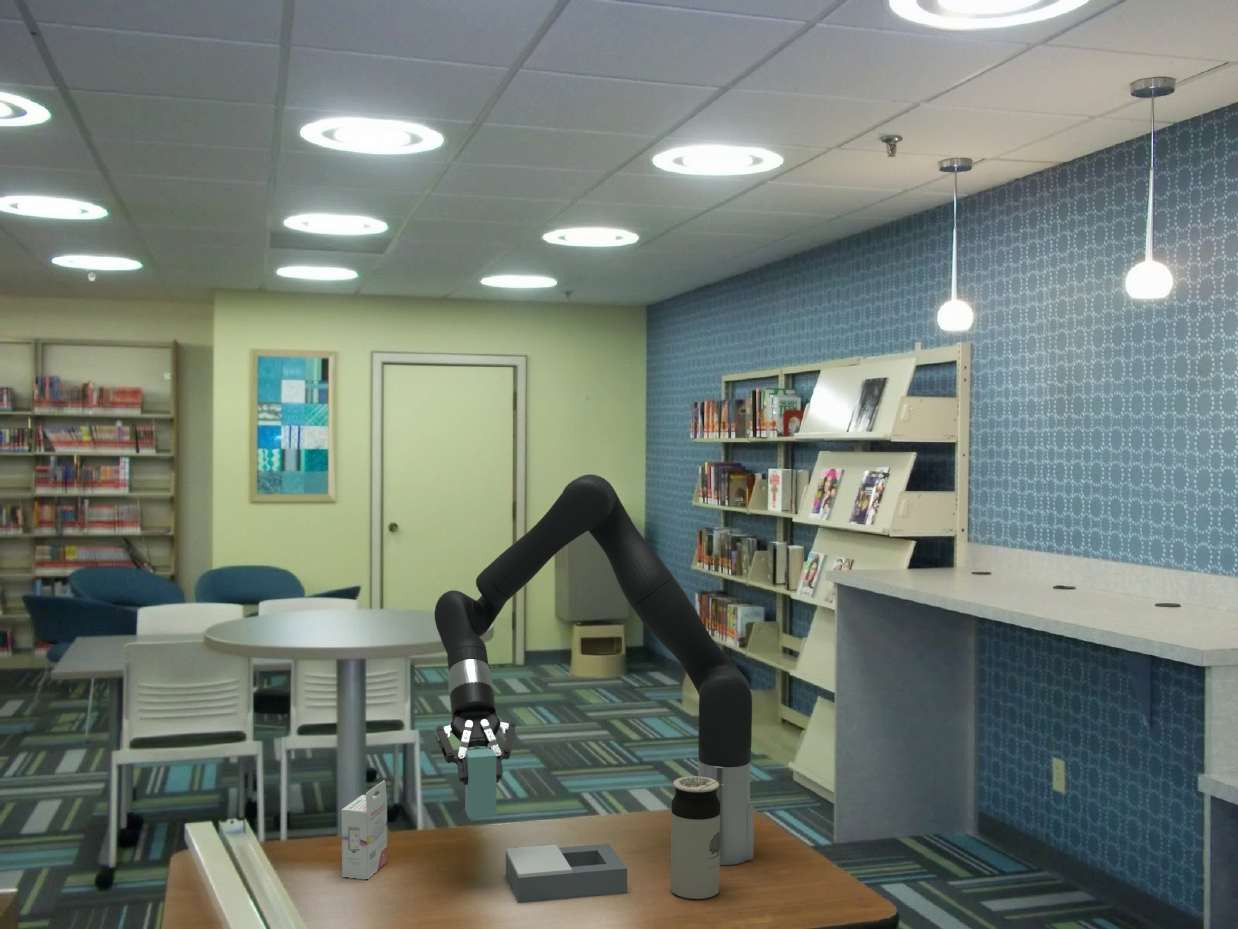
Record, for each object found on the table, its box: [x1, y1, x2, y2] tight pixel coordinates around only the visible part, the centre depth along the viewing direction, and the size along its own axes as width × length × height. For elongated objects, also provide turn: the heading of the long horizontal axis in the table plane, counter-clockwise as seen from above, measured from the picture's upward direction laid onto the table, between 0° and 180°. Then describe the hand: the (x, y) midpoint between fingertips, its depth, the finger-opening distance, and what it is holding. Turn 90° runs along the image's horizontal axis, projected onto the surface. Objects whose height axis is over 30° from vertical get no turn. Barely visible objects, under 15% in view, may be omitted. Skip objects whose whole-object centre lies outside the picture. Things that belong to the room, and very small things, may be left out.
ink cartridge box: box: [341, 779, 388, 880], centre depth 205 cm, size 9×5×15 cm, turn 168°
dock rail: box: [505, 843, 628, 904], centre depth 200 cm, size 18×12×5 cm, turn 105°
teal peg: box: [464, 748, 497, 819], centre depth 198 cm, size 4×4×10 cm
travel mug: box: [670, 775, 720, 900], centre depth 197 cm, size 8×8×18 cm
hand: (481, 781), depth 197 cm, fingers closed on teal peg, 4 cm apart
